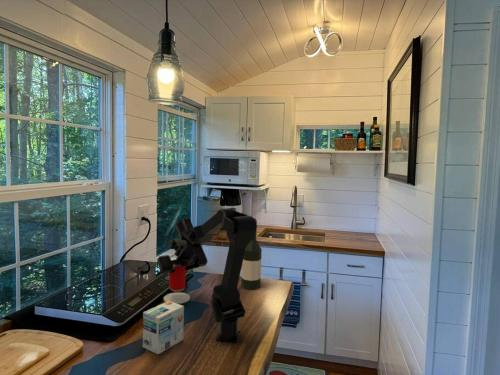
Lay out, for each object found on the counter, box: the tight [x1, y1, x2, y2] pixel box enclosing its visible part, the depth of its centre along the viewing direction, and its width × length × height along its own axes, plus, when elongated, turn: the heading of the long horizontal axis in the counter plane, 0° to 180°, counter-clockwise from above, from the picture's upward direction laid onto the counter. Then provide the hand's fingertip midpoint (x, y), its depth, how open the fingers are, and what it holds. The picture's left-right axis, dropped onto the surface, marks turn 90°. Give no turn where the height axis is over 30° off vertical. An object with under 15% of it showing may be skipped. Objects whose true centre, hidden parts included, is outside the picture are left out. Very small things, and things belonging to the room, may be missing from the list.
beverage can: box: [168, 257, 186, 293], centre depth 137 cm, size 6×6×12 cm
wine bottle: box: [240, 217, 263, 291], centre depth 153 cm, size 8×8×30 cm
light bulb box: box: [142, 301, 185, 355], centre depth 105 cm, size 11×7×11 cm, turn 148°
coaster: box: [163, 291, 191, 305], centre depth 138 cm, size 10×10×1 cm
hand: (175, 272), depth 138 cm, fingers closed on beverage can, 6 cm apart
